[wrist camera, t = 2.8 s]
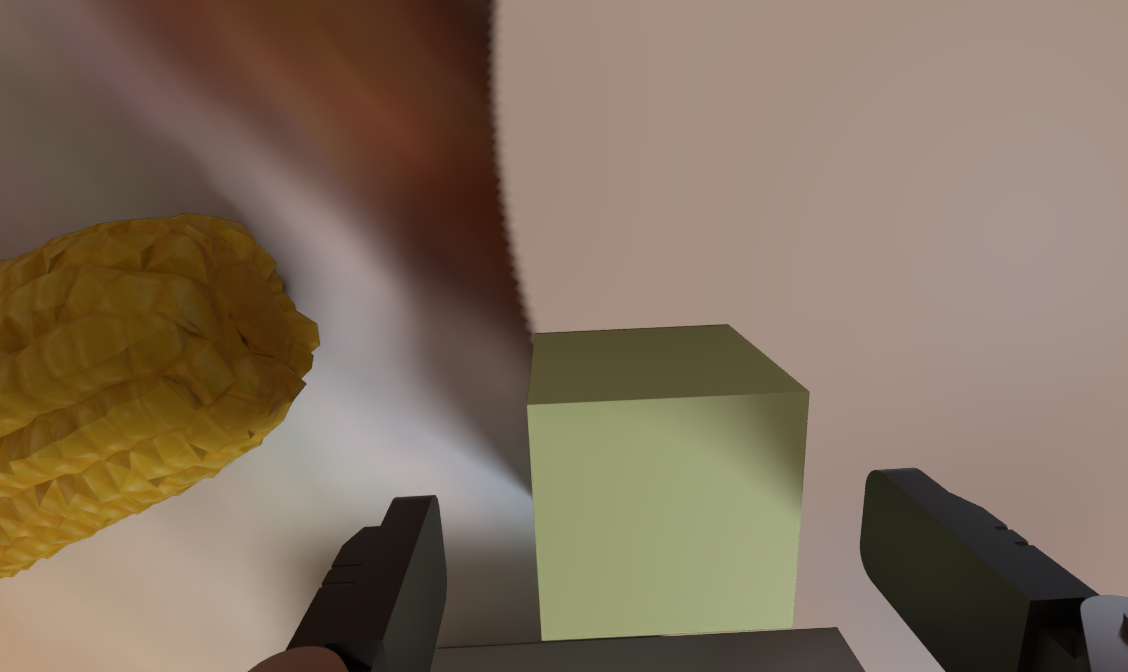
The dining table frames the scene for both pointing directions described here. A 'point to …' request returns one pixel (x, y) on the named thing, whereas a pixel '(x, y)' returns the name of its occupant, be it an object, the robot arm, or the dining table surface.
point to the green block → (664, 482)
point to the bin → (665, 654)
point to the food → (135, 372)
